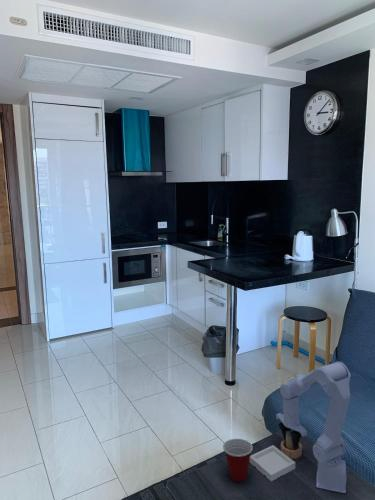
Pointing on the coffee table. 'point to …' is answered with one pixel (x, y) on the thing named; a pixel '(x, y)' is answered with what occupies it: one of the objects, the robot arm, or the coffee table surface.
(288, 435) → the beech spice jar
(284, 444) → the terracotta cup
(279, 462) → the grey tray
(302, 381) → the robot arm
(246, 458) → the plastic cup
